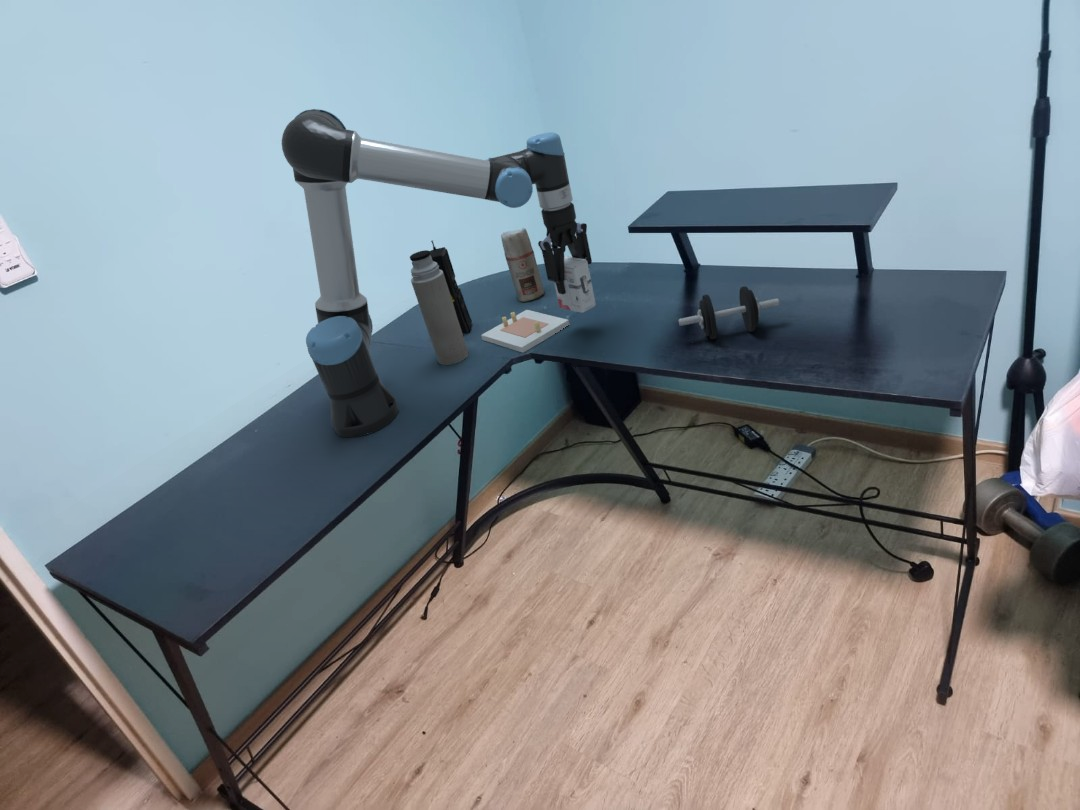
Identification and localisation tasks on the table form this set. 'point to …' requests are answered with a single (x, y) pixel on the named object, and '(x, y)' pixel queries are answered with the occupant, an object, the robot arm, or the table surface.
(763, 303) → the dumbbell
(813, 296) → the table surface
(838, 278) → the table surface
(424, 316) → the thermos bottle
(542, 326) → the pin plate
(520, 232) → the spray can
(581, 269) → the ink box
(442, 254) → the portable radio
